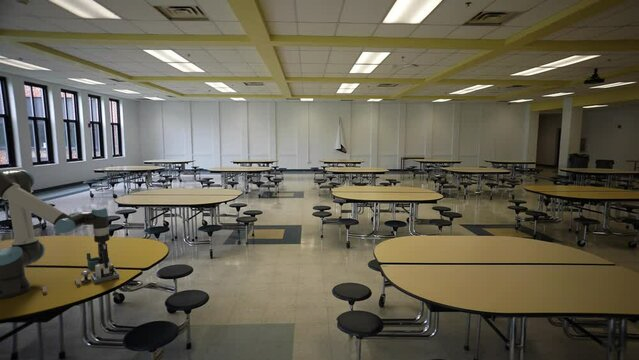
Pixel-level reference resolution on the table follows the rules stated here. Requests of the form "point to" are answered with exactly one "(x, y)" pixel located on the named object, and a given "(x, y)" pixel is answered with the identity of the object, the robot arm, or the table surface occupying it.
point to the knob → (85, 276)
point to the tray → (99, 280)
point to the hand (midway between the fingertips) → (104, 270)
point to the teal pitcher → (91, 261)
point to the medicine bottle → (100, 271)
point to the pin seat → (75, 281)
